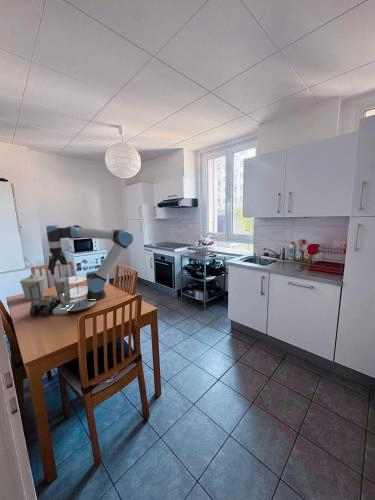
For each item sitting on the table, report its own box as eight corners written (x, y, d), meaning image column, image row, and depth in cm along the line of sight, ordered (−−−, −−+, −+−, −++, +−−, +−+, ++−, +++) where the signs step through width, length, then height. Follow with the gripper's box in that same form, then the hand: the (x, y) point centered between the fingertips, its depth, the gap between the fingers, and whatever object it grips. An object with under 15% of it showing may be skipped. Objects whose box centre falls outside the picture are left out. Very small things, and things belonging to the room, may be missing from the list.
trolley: (60, 307, 164) (56, 280, 160) (48, 317, 148) (43, 287, 144) (44, 308, 163) (39, 281, 159) (30, 318, 148) (25, 288, 144)
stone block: (68, 305, 167) (64, 281, 163) (58, 306, 165) (54, 282, 161) (71, 299, 179) (68, 276, 176) (62, 300, 177) (59, 277, 174)
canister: (28, 303, 172) (24, 278, 168) (19, 299, 182) (14, 275, 178) (52, 295, 187) (48, 273, 184) (42, 292, 197) (38, 270, 193)
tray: (74, 306, 165) (73, 301, 165) (66, 313, 153) (65, 309, 152) (62, 306, 165) (61, 302, 164) (53, 314, 152) (52, 310, 151)
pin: (67, 307, 160) (64, 292, 158) (65, 309, 157) (62, 294, 155) (63, 308, 160) (60, 293, 158) (60, 310, 157) (58, 294, 155)
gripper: (59, 244, 162) (63, 271, 166) (38, 250, 138) (43, 281, 142) (69, 244, 163) (73, 270, 166) (50, 250, 138) (55, 281, 142)
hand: (59, 275), depth 154 cm, fingers open, 13 cm apart
